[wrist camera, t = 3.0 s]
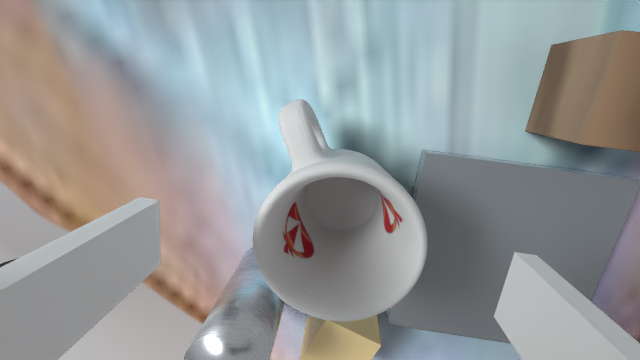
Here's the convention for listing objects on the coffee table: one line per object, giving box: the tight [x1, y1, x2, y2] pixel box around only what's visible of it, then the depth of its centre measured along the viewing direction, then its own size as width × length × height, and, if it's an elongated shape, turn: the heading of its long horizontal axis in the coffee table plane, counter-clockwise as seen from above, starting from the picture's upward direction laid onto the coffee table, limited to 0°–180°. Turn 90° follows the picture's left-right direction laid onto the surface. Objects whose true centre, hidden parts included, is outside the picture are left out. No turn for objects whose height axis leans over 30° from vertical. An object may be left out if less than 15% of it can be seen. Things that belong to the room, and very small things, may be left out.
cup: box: [253, 100, 428, 321], centre depth 18 cm, size 11×8×8 cm
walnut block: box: [525, 30, 640, 152], centre depth 17 cm, size 5×5×5 cm
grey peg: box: [184, 248, 285, 360], centre depth 20 cm, size 4×4×9 cm
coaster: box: [387, 150, 640, 343], centre depth 22 cm, size 13×13×1 cm
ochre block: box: [300, 315, 382, 360], centre depth 23 cm, size 4×4×4 cm
